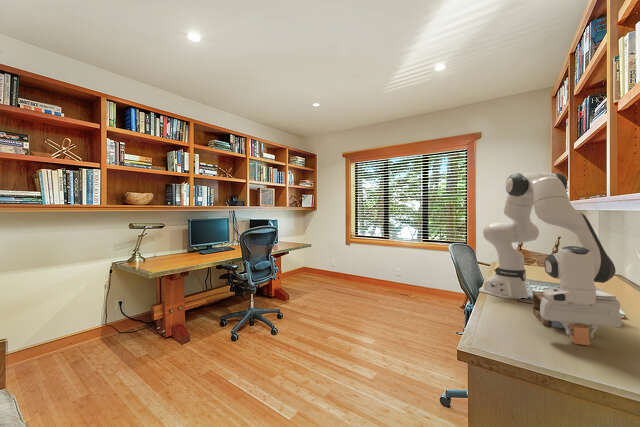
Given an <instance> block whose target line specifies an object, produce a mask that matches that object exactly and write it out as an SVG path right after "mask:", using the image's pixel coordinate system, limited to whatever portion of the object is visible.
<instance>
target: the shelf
mask: <svg viewBox="0 0 640 427" xmlns="http://www.w3.org/2000/svg"><path fill="white" fill-rule="evenodd" d="M531 295H532V314H533V316H535V318H536V319H537V320H538V321H539V322H540V323H541V324H542V325H543V326H544V327H549V323H548V320H545V319H544V318H543V317H542V316H541V315H540V304H541V300H542V298H543V297H545V296H544V295H543V291H537V290H535V291H534V290H532V294H531ZM576 324H579V323H576Z"/></svg>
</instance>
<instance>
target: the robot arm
mask: <svg viewBox="0 0 640 427" xmlns="http://www.w3.org/2000/svg"><path fill="white" fill-rule="evenodd" d="M567 187H568V179H567V177H566V176H565V175H564V174H562V173H559V172H542V171H540V172H539V171H537V172H525V173H513V174H510V176H508V177H507V179H506V182H505V190H506V192H507V198H506V200H505V204H504V208H503V213H504V215H505V216H506V217H507V218H508V219H510V220H511V221H509V222H507V221H505V222H503V221H502V222H492V223H488V224H486V225H485V226H484V228H483V230H482V234H483V238H484V239H485V240H486V241H487V242H488V243H490V244H491V245H492V246H493V247H494V248H495V250H496V253H497V256H498V266H497V267H496V268H495V269H494V270H493V272H495V274H493V275H491V276H490V277H488V278H485V280H484V282H483V286H481V287H479V289H478V291H479V292H480V293H483V294H486V295H487V294H488V295H490V296H494V297H499V298H501V299H502V298H503V299H507V300H509V299H518V300H520V299H521V298H525V299H529V298H530V294H529V292H528V287H527V282H526V281H527V280H526V279H527V273H526V272H527V271H526V269H525V256H524V254H523V253H522V252H521V251H520V250H518V249H516V248H514V246H513V243H516V244H517V243H528V242H533V241H536V240H537V239H538V237H539V235H540V230H539V228H538V226H537V225H536V224H535V223H533V222H532V220H531V214H532V209H534V213H535V215H536V216H537V217H538V219H539V220H541V221H543V223H546V224H548V225H551V226H555V227H556V226H557V227H559V228H563V229H566V230H569V231H571V232H572V233H573V234H575V235H576V236H577V238H578V240H579V242H580V244H581V246H577V245H576V246H573V245H572V246H571V245H568V246H567V245H566V246H563V247H561V248H560V249H559V252H555V253H550V254H549V255H548V256H546V258H544V272H545V273H546V274H547V275H549V276H550V277H552V278H553V279H557V280H560V282H559V286H557V287H552V288H547V289H544V290H542V292H543V295H544V296H545V297H543V298H542V300H541V304H540V315H541V316H542V317H543V318H544V319H545V320H549V321H559V322H561V323H562V324H563V326H564V327H565V328H566V329H565V334H566V335H567V336H570V335H572V336H573V335H574V334H573V333H574V332H573V330H572V329H569V328H568V326H567V325H569V323H579V324H583V325H588V326H589V328H588V329H589V339H590V338H591V339H593V338H594V333H595V332H596V331H597V330H598V326H599V327H600V326H601V327H610V328H620V327H621V326H622V325H623V323H622V322H623V321H622V317H621V316H622V315H621V312H620V310H621V303H620V302H619V300H617V298H616V299H614V298H612V297H599V296H596V291H597V288H596V284H595V283H599V284H600V283H601V284H604V283H606V282H608V281H610V280H611V279H612V278H614V276H616V267H615V264H614V261H612V259H611V257H610V256H609V255H608V253H607V252H606V250H605V249H604V247H603V245H602V243H601V241H600V240H599V238H598V235H597V233H596V231H595V230H594V228H593V226H592V224H591V222H590V220H589V219H588V218H587V216H586V214H584V213H582V212H579V211H578V210H577V209H576V208H574V206H573V205H572V203H571V201H570V198H569V194H568V192H567ZM528 297H529V298H528ZM521 300H522V299H521ZM614 300H615V301H614Z"/></svg>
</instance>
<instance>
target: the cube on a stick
mask: <svg viewBox="0 0 640 427" xmlns="http://www.w3.org/2000/svg"><path fill="white" fill-rule="evenodd" d="M548 325H549V326H551V328H556V329H564V330H566V328H565V327H564V326H563V324H562V323H561V322H559V321H549V320H548ZM567 326H568V328H569V329H572V330H573V332H574V333H573V334H574V335H573V336H572V335H569V338H570V341H572V342H573V344H576V345H583V346H590V338H589V328H588V327H587V326H586V325H585V324H576V323H569V325H567Z"/></svg>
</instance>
